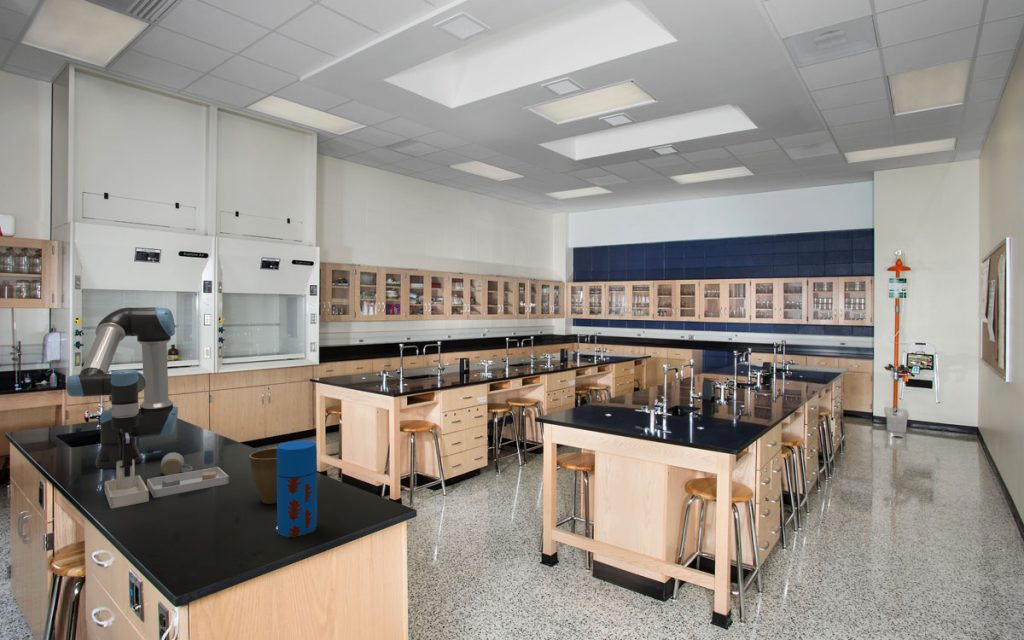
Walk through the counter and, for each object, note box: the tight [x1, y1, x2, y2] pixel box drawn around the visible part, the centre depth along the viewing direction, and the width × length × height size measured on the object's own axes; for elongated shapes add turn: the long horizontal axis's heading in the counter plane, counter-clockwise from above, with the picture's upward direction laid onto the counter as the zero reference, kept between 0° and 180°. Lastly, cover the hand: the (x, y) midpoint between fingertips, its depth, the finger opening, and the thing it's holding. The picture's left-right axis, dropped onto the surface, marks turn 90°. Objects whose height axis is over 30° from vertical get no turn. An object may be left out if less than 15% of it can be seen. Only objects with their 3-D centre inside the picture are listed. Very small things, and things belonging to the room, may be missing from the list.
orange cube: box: [202, 471, 216, 481], centre depth 199 cm, size 4×4×4 cm
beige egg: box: [115, 459, 136, 490], centre depth 186 cm, size 5×5×9 cm
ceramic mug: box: [160, 452, 194, 476], centre depth 213 cm, size 11×8×8 cm
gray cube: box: [162, 478, 180, 488], centre depth 191 cm, size 4×4×4 cm
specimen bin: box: [104, 474, 150, 510], centre depth 186 cm, size 21×10×4 cm, turn 41°
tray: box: [146, 466, 230, 499], centre depth 198 cm, size 15×23×3 cm, turn 131°
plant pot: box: [249, 447, 277, 505], centre depth 184 cm, size 15×15×16 cm
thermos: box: [276, 440, 318, 537], centre depth 160 cm, size 11×11×25 cm
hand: (125, 483), depth 186 cm, fingers closed on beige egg, 5 cm apart
